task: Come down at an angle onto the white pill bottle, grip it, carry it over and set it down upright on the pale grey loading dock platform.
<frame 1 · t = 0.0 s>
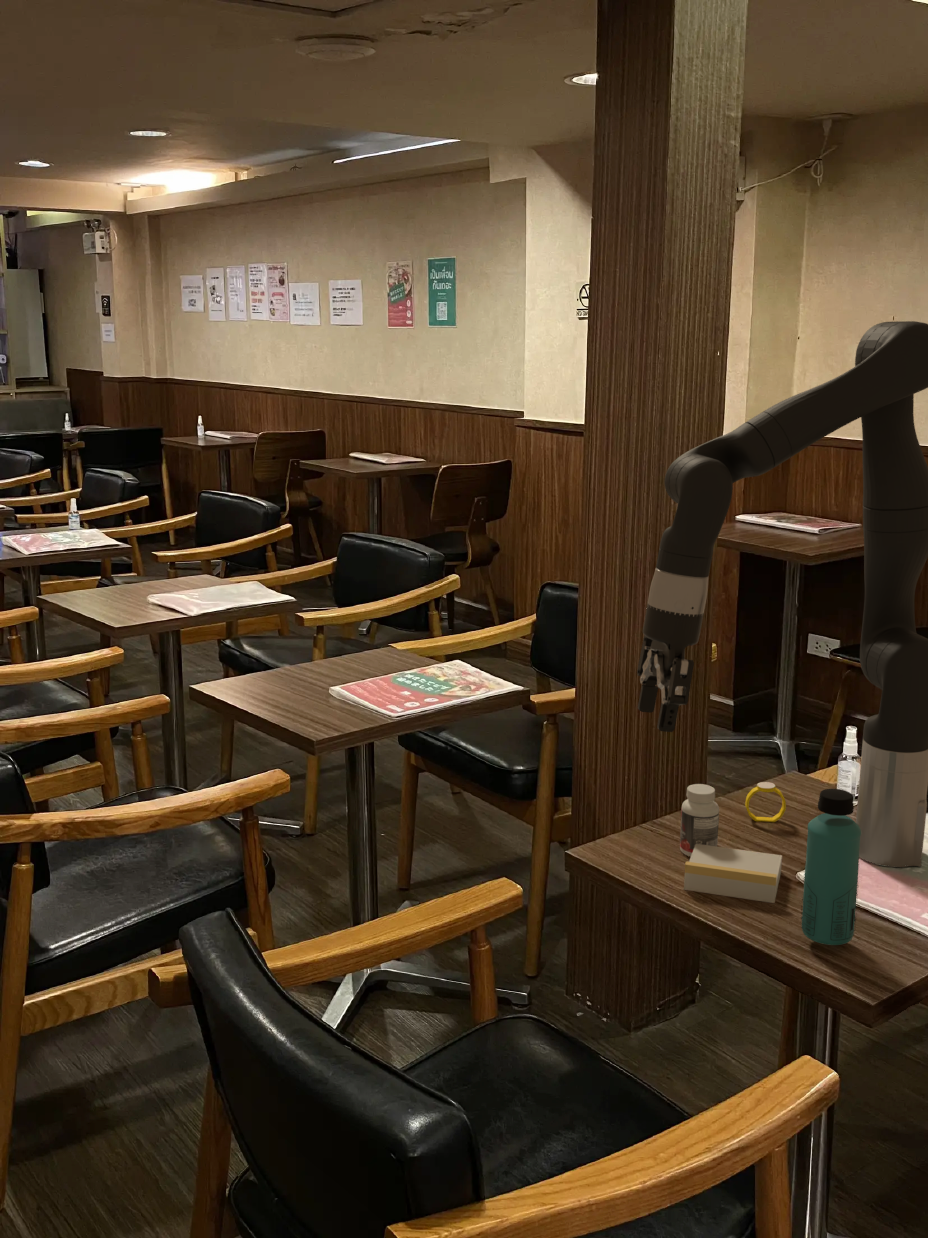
hand: (655, 720, 163), 22 cm above the table, tool pointing down, fingers open, 8 cm apart
beverage bottle: (825, 945, 148), on the table
dock: (733, 880, 165), on the table
pill bottle: (698, 853, 175), on the table
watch: (764, 821, 186), on the table
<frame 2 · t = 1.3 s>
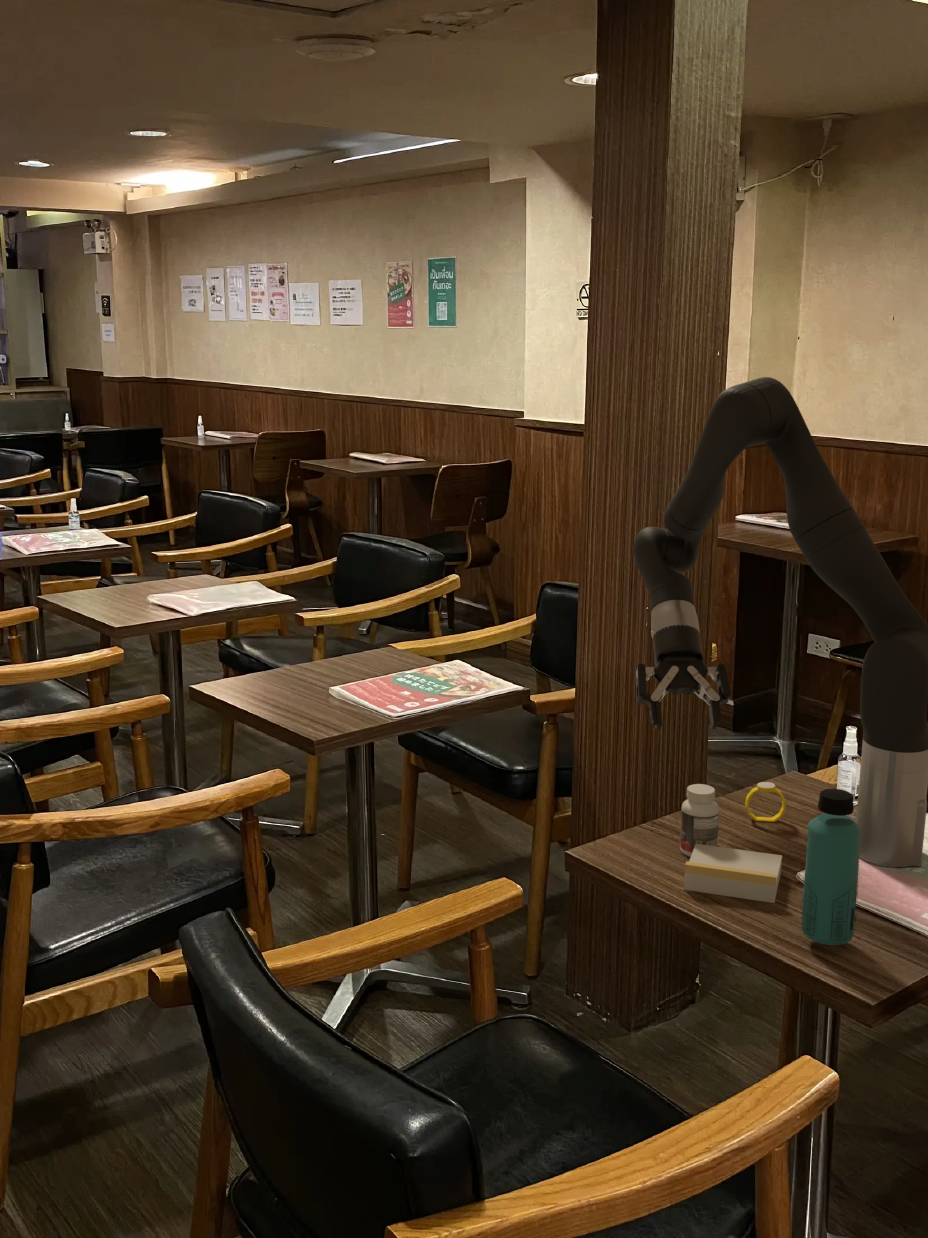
hand: (687, 727, 182), 15 cm above the table, tool tilted 45°, fingers open, 8 cm apart
nothing on the table moved.
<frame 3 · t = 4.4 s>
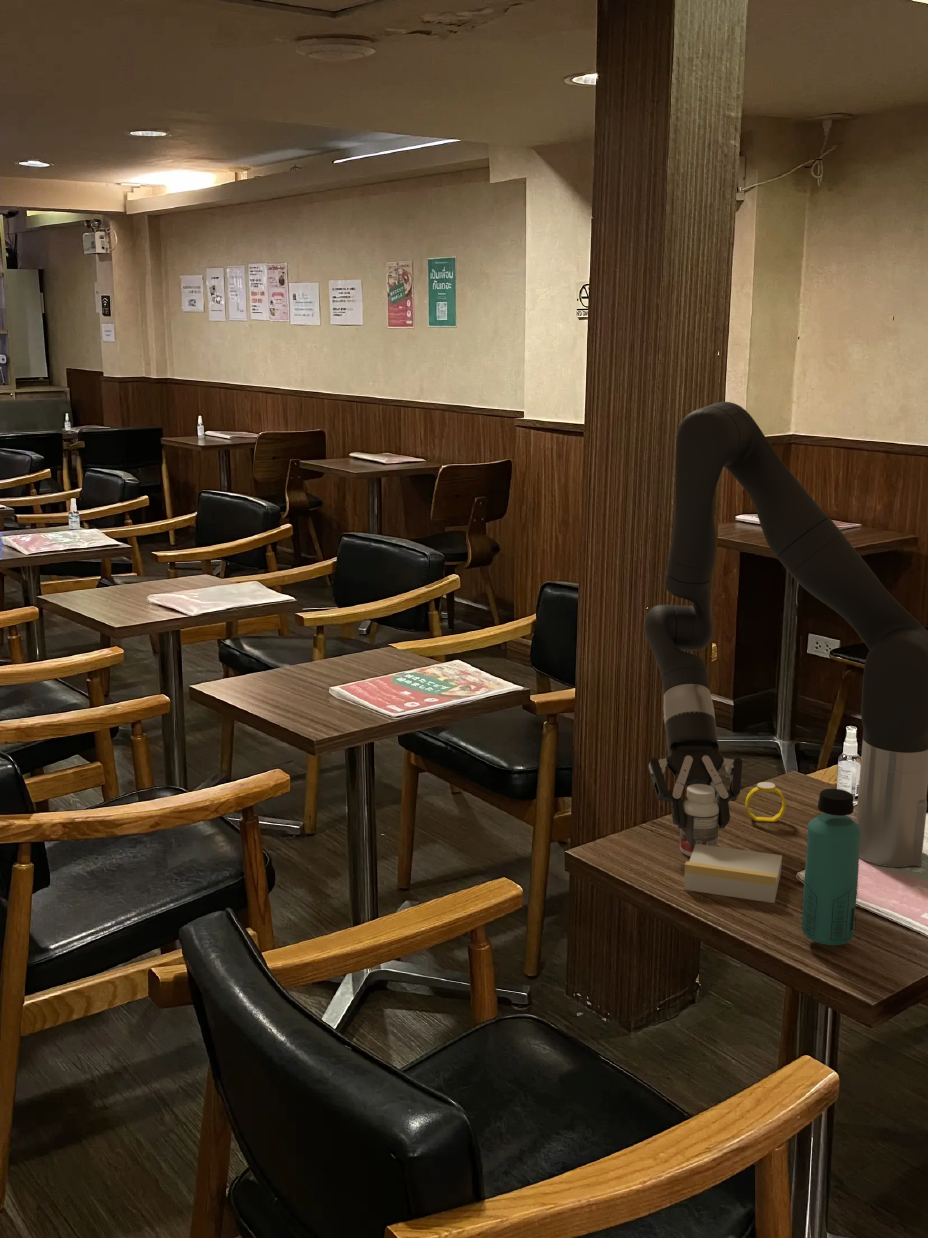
hand: (702, 826, 172), 5 cm above the table, tool tilted 45°, fingers closed on pill bottle, 5 cm apart
pill bottle: (698, 852, 175), on the table, touching gripper
everything else where it was.
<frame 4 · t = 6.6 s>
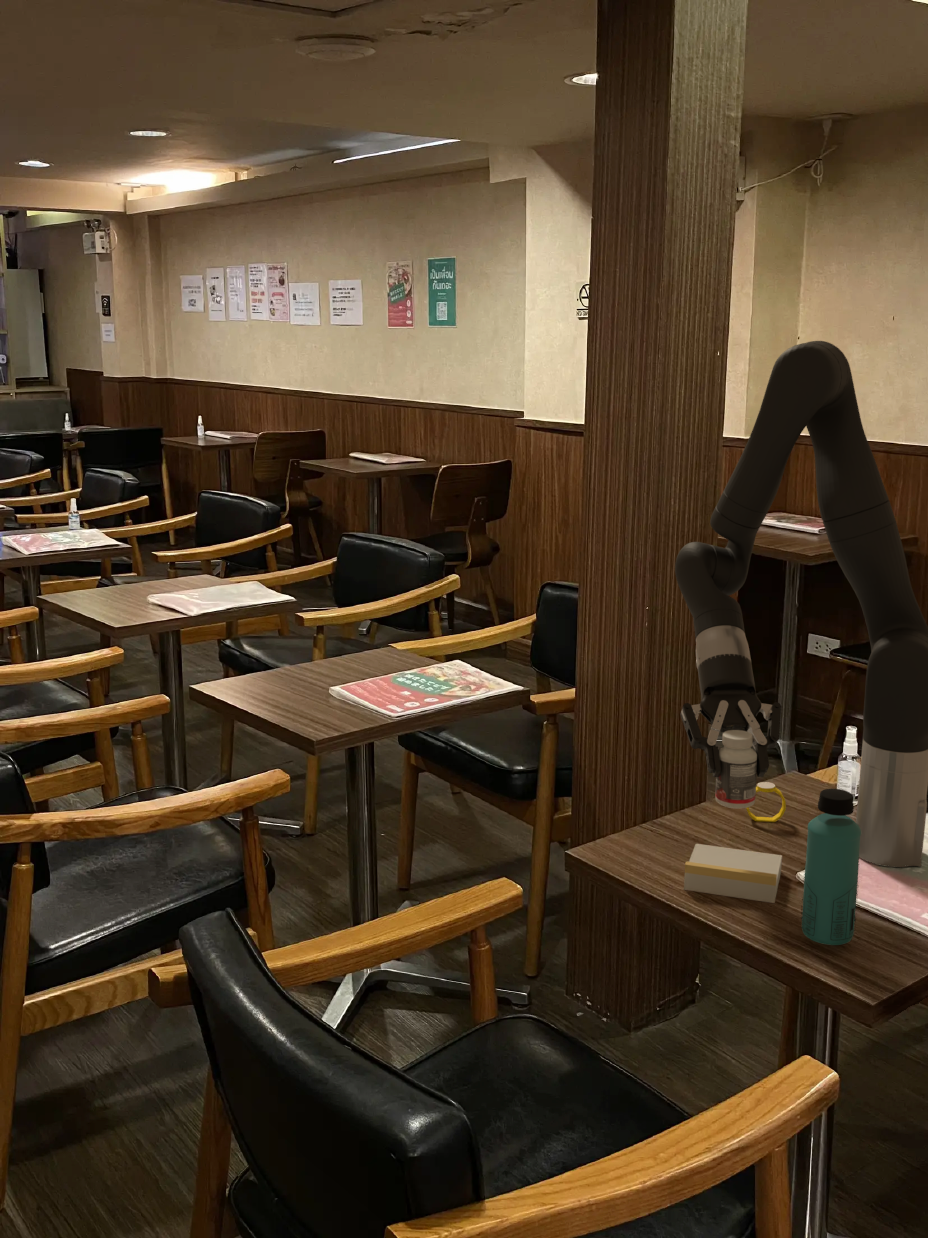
hand: (739, 774, 161), 16 cm above the table, tool tilted 45°, fingers closed on pill bottle, 5 cm apart
pill bottle: (734, 803, 164), point 11 cm above the table, touching gripper
everything else where it was.
when the fingers open (8 cm above the table, at t = 8.7 s): pill bottle stays where it is, resting on dock.
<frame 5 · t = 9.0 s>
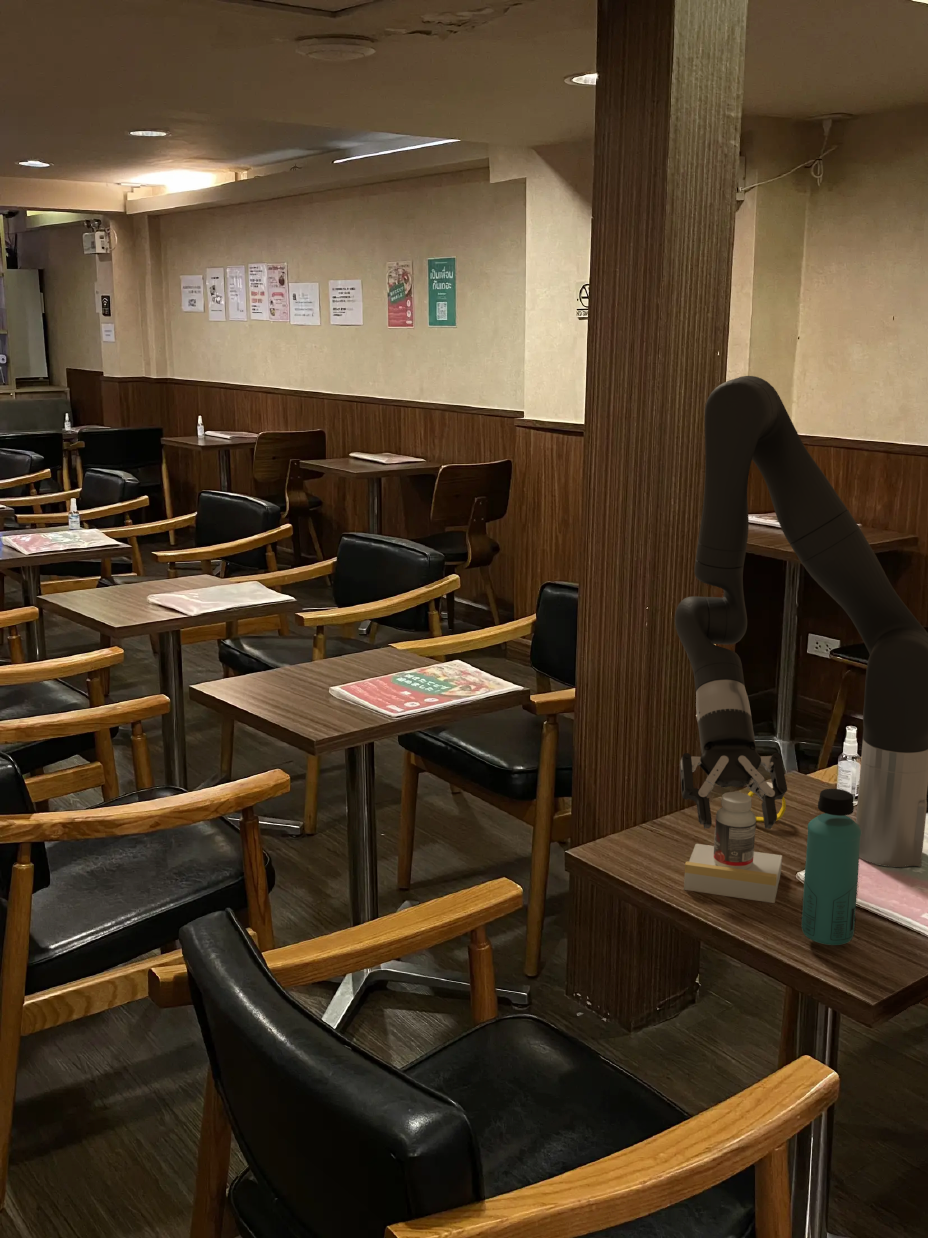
hand: (738, 826, 162), 9 cm above the table, tool tilted 45°, fingers open, 8 cm apart
pill bottle: (732, 864, 165), point 2 cm above the table, touching dock
everything else where it was.
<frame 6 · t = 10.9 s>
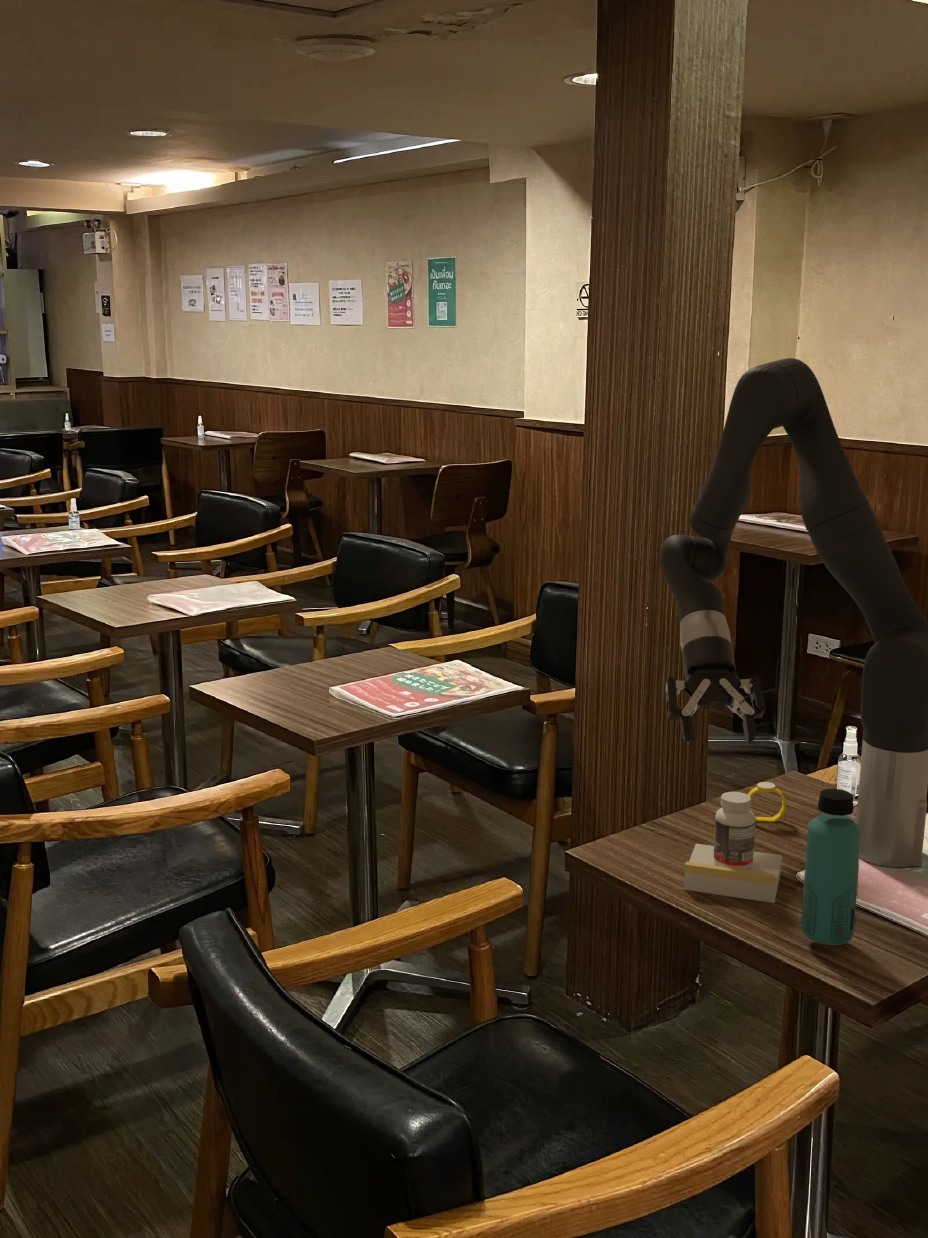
hand: (720, 742, 174), 16 cm above the table, tool tilted 45°, fingers open, 8 cm apart
nothing on the table moved.
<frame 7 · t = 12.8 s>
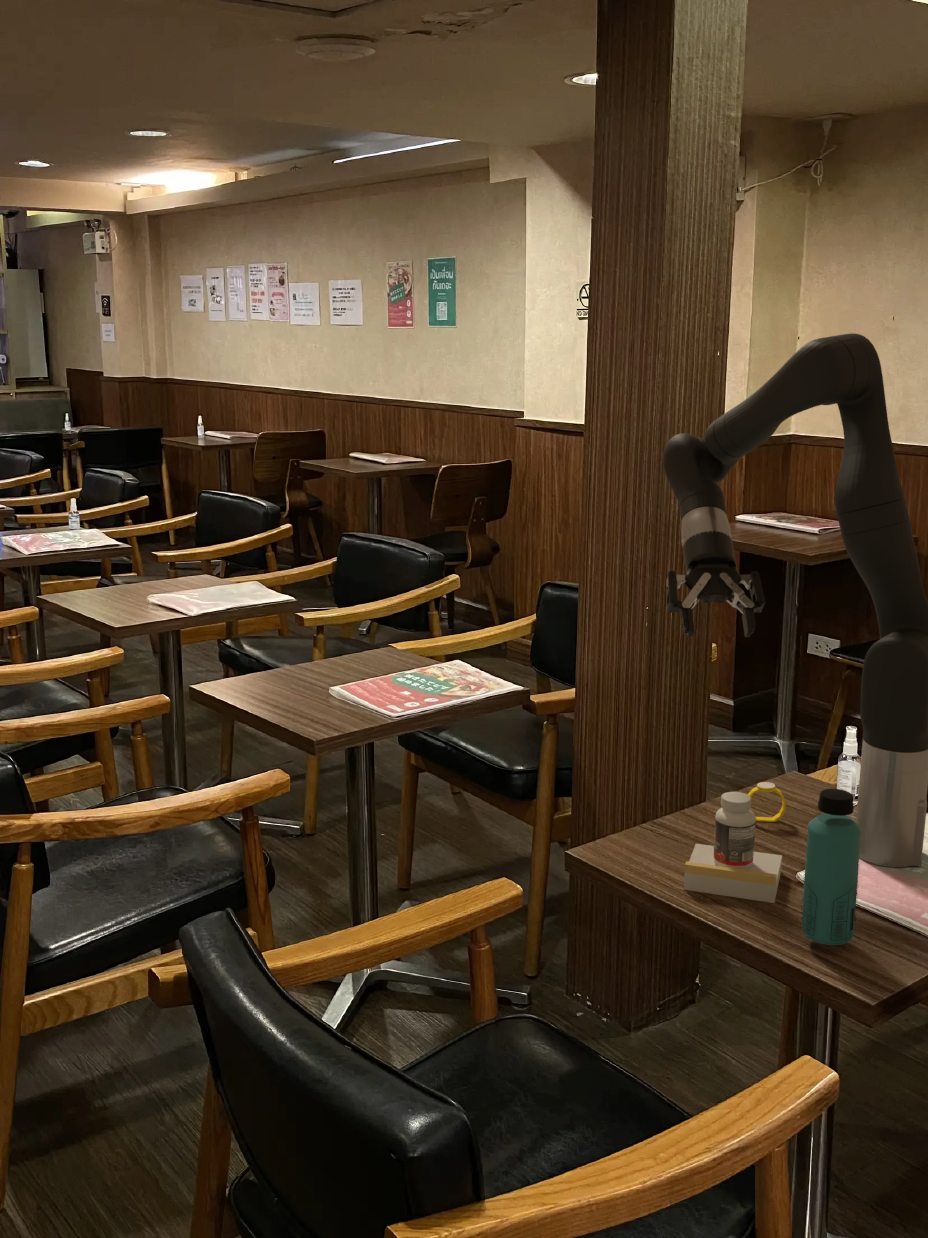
hand: (720, 634, 175), 31 cm above the table, tool tilted 45°, fingers open, 8 cm apart
nothing on the table moved.
at the end: pill bottle inside the target area on the dock (0.2 cm from its centre), point 2.3 cm above the dock's base; pill bottle tilted 0°; the gripper is holding nothing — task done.
